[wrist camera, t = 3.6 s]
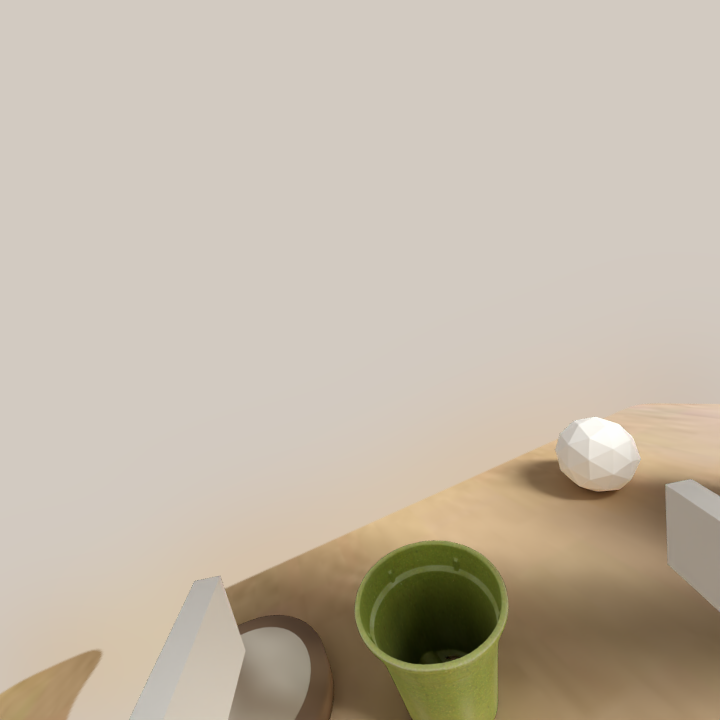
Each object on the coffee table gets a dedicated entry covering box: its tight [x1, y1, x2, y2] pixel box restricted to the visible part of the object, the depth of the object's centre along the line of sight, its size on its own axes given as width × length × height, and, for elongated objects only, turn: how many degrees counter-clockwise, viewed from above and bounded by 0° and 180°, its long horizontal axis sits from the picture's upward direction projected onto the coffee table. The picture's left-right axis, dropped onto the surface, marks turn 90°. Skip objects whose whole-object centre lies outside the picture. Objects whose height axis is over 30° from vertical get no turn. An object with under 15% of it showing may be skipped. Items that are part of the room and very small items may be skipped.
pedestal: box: [228, 615, 334, 720], centre depth 29 cm, size 12×12×2 cm
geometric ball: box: [556, 417, 641, 492], centre depth 43 cm, size 8×8×8 cm
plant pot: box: [355, 541, 508, 720], centre depth 26 cm, size 9×9×9 cm
